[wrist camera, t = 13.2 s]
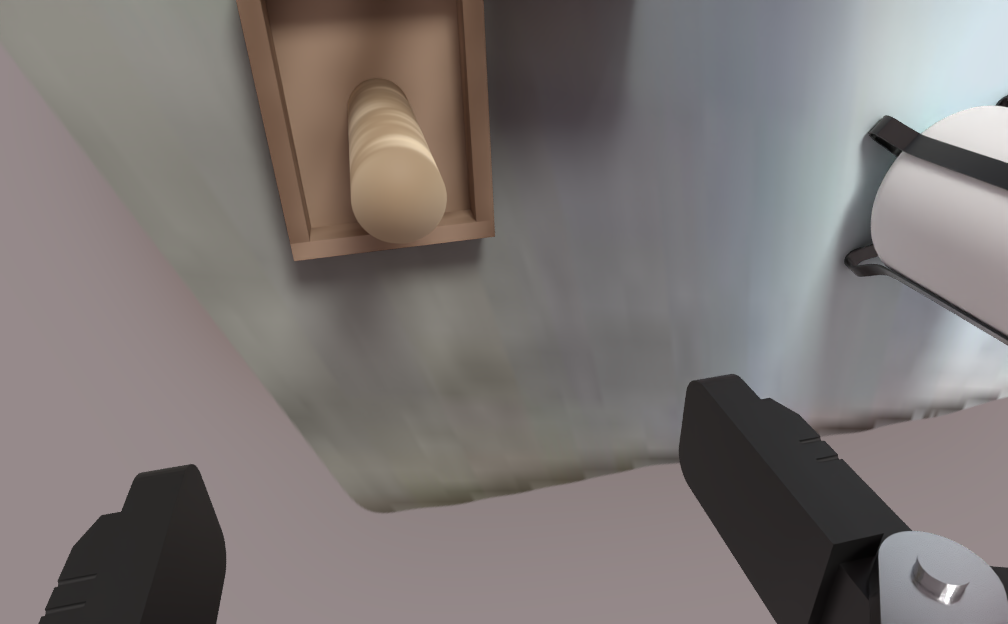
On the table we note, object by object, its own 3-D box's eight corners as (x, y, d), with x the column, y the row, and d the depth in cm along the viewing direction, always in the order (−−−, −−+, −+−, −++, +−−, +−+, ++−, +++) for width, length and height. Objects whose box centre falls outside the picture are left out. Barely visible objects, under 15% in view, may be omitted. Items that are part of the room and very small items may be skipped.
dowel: (406, 75, 33) (442, 148, 21) (412, 138, 35) (450, 237, 23) (342, 80, 32) (343, 157, 21) (352, 143, 34) (358, 248, 22)
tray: (470, -48, 32) (481, -48, 29) (484, 217, 39) (494, 236, 36) (237, -38, 30) (228, -36, 27) (297, 239, 37) (294, 261, 34)
